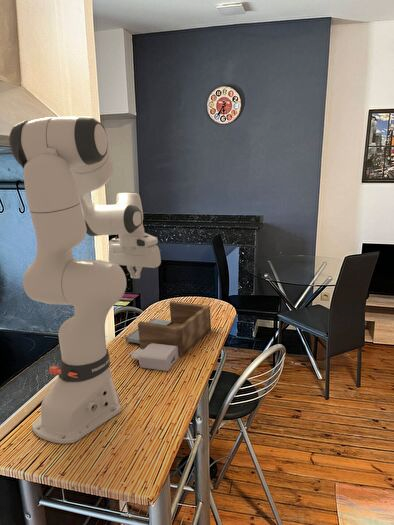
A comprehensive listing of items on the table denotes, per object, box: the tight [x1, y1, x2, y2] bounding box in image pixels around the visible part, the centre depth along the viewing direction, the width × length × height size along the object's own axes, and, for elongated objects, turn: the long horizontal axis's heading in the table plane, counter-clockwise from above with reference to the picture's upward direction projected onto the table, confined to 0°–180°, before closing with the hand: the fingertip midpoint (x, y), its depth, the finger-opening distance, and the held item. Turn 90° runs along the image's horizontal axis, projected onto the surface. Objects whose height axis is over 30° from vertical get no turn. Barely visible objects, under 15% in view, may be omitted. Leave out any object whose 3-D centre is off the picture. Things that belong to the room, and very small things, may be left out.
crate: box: [137, 300, 212, 358], centre depth 139 cm, size 22×16×10 cm
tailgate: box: [124, 317, 172, 345], centre depth 145 cm, size 18×1×8 cm
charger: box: [127, 343, 179, 372], centre depth 125 cm, size 5×9×15 cm
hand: (135, 277), depth 141 cm, fingers closed
